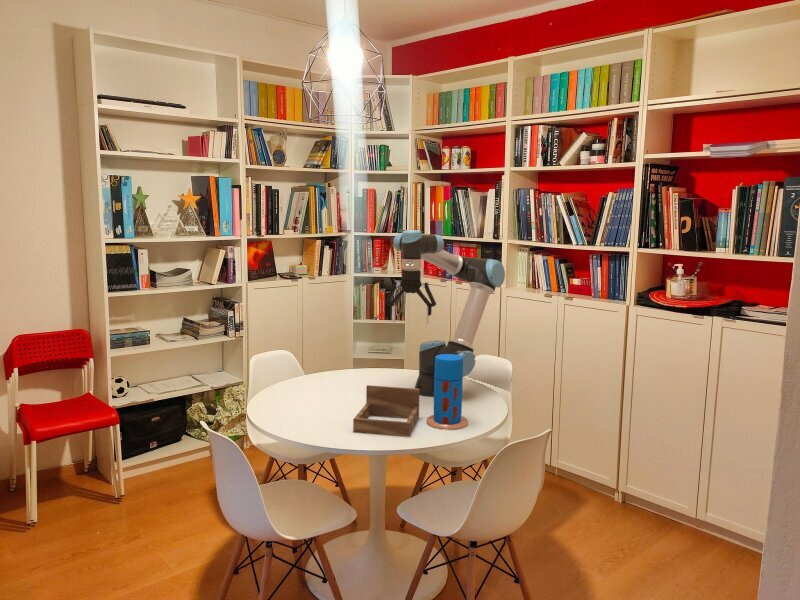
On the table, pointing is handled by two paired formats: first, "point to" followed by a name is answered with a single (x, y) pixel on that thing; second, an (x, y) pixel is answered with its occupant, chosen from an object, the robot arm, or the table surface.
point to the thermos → (448, 389)
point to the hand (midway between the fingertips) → (410, 322)
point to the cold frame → (388, 411)
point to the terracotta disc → (441, 426)
